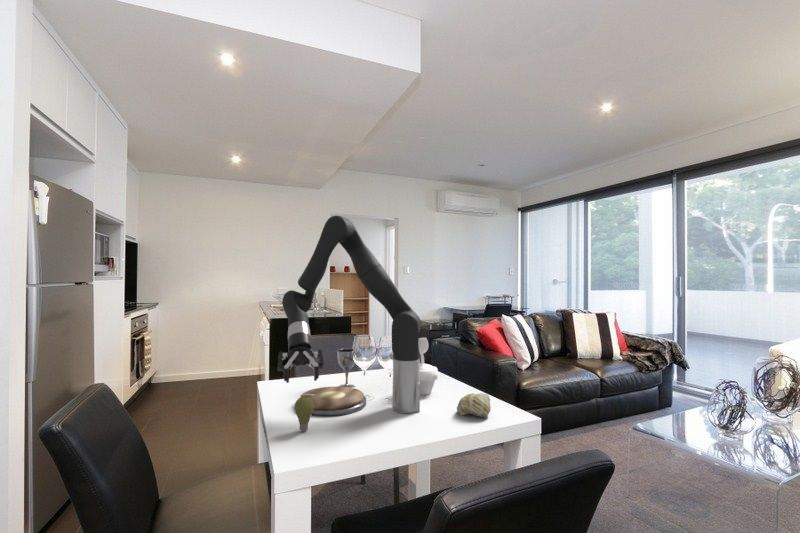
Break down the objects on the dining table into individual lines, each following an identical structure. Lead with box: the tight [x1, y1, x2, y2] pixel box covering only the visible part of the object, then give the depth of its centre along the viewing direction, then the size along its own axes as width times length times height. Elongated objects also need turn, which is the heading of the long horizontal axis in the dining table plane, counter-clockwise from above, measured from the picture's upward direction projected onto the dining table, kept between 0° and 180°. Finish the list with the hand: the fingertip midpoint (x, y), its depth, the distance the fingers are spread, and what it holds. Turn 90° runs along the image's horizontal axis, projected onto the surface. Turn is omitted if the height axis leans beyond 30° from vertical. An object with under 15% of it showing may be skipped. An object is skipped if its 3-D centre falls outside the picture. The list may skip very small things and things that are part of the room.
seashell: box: [456, 392, 492, 418], centre depth 126 cm, size 10×10×10 cm
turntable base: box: [311, 395, 367, 418], centre depth 135 cm, size 24×24×2 cm
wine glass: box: [336, 347, 356, 388], centre depth 157 cm, size 8×8×15 cm
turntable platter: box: [299, 386, 365, 410], centre depth 135 cm, size 22×22×2 cm
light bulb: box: [294, 396, 314, 433], centre depth 111 cm, size 6×6×10 cm
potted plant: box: [418, 337, 439, 396], centre depth 150 cm, size 13×12×25 cm
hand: (301, 380), depth 119 cm, fingers open, 8 cm apart
